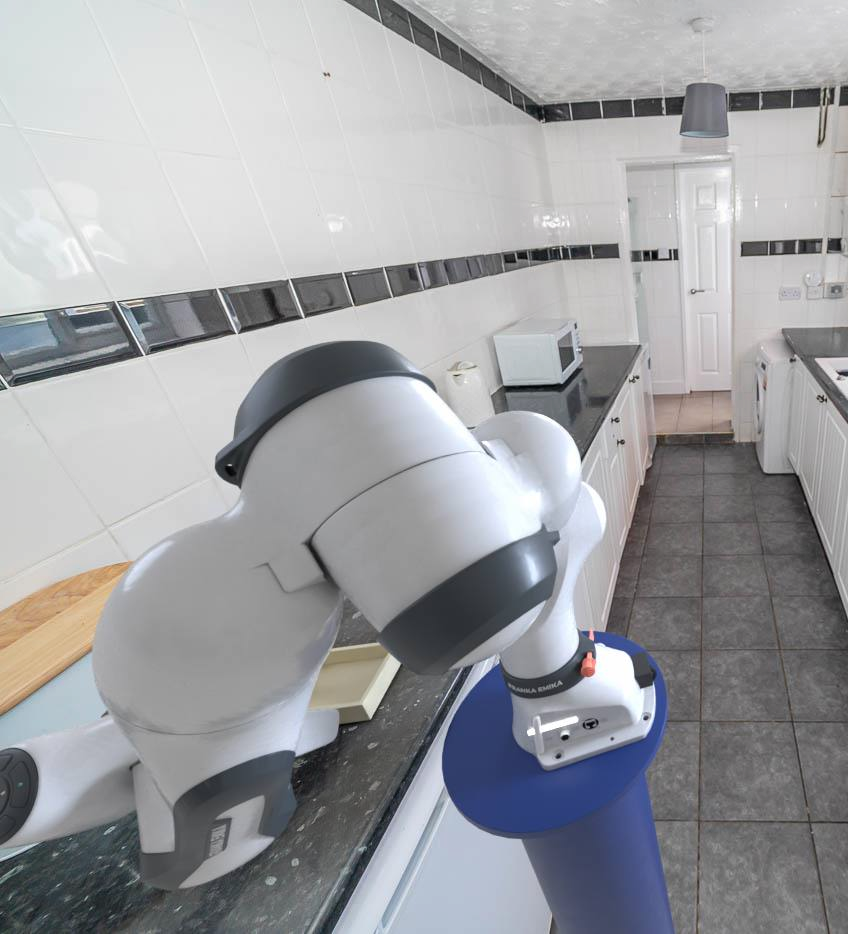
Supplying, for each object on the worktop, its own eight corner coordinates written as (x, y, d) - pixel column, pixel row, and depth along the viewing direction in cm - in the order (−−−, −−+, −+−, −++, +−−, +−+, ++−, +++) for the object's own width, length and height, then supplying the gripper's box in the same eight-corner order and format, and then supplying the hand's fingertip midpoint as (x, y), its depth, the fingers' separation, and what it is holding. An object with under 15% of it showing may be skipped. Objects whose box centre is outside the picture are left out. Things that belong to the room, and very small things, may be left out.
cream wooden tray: (406, 653, 90) (400, 639, 88) (370, 719, 77) (362, 704, 76) (318, 665, 88) (309, 651, 87) (267, 734, 76) (256, 719, 75)
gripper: (77, 800, 51) (201, 765, 64) (283, 770, 52) (363, 742, 65) (93, 733, 53) (211, 713, 66) (291, 706, 54) (367, 691, 67)
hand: (288, 727), depth 65 cm, fingers closed
